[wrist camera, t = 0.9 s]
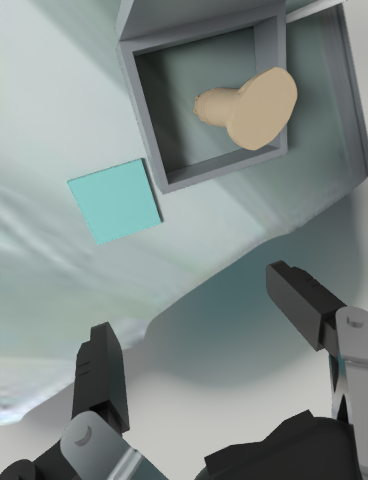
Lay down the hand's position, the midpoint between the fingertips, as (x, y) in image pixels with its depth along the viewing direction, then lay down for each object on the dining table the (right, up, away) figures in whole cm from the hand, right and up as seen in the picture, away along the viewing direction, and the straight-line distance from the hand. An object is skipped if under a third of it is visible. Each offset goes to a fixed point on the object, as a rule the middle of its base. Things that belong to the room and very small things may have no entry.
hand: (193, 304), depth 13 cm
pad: (-10, +8, +25) cm, 28 cm away
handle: (+2, +21, +22) cm, 30 cm away
